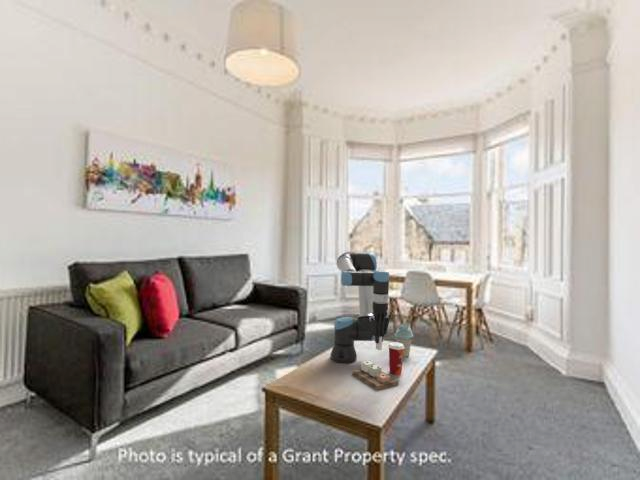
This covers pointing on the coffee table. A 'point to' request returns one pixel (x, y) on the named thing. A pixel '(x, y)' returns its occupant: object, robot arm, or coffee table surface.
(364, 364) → the tile one
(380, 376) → the tile three
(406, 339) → the ice cream cone
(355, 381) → the coffee table surface
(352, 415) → the coffee table surface
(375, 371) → the tile two
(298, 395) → the coffee table surface
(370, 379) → the tile board
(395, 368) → the coffee cup
